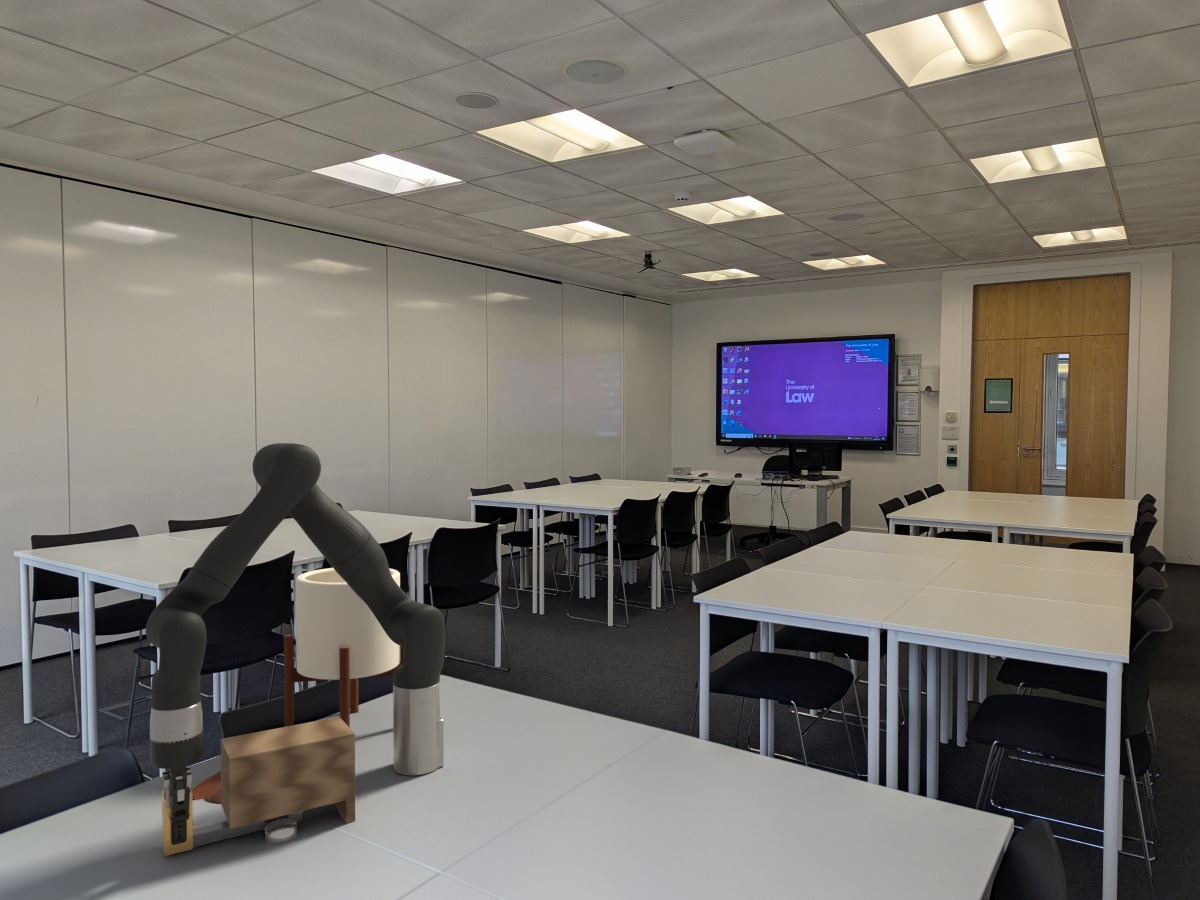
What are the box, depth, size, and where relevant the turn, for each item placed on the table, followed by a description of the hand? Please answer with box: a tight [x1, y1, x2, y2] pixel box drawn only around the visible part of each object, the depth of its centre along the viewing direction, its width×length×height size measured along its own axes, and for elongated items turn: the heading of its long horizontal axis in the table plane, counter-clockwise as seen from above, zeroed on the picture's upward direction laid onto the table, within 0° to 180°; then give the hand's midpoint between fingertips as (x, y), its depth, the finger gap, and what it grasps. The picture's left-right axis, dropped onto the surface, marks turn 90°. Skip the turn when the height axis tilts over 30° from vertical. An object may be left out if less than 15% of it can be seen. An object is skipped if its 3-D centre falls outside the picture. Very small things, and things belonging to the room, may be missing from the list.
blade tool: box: [161, 786, 303, 857], centre depth 134 cm, size 21×4×9 cm, turn 123°
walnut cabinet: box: [220, 716, 356, 829], centre depth 138 cm, size 20×10×15 cm, turn 123°
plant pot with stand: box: [283, 567, 405, 729], centre depth 181 cm, size 22×22×36 cm
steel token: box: [264, 818, 298, 845], centre depth 134 cm, size 5×5×2 cm
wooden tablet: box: [191, 770, 221, 804], centre depth 160 cm, size 27×10×2 cm, turn 169°
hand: (177, 836), depth 129 cm, fingers closed on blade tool, 4 cm apart
